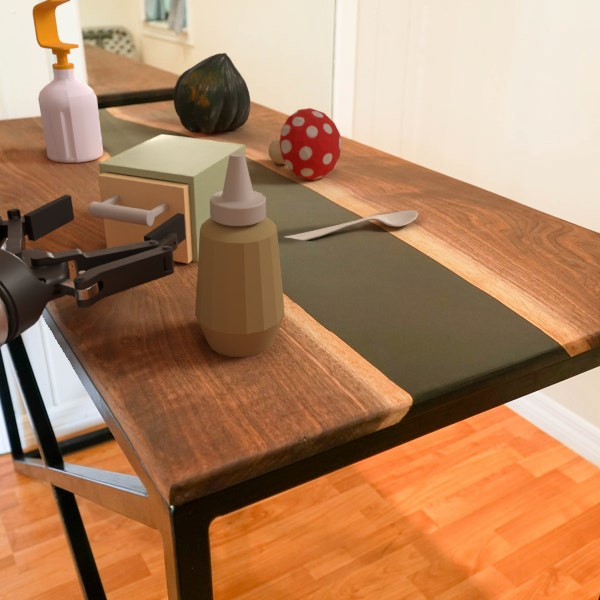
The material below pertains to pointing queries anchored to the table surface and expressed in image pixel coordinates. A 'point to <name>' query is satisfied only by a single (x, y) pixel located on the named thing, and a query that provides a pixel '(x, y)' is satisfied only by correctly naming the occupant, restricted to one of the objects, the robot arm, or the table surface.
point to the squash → (212, 96)
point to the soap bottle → (65, 98)
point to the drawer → (141, 209)
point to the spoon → (388, 219)
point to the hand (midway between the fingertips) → (124, 216)
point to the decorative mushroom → (307, 144)
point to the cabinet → (180, 170)
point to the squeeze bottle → (239, 269)
